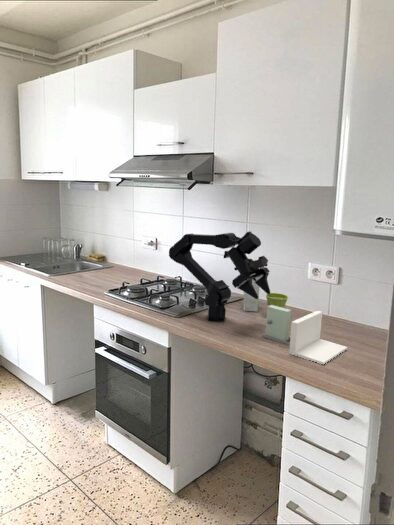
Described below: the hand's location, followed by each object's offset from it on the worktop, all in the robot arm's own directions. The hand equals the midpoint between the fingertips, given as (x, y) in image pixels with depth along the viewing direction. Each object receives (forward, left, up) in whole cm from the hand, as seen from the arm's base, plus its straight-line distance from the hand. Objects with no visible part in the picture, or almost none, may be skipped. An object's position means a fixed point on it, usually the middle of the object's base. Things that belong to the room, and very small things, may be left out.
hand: (263, 296), depth 153 cm
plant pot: (+10, +19, -14) cm, 26 cm away
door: (+4, -7, -14) cm, 16 cm away
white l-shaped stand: (+10, -13, -14) cm, 21 cm away
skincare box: (+1, +28, -14) cm, 32 cm away
